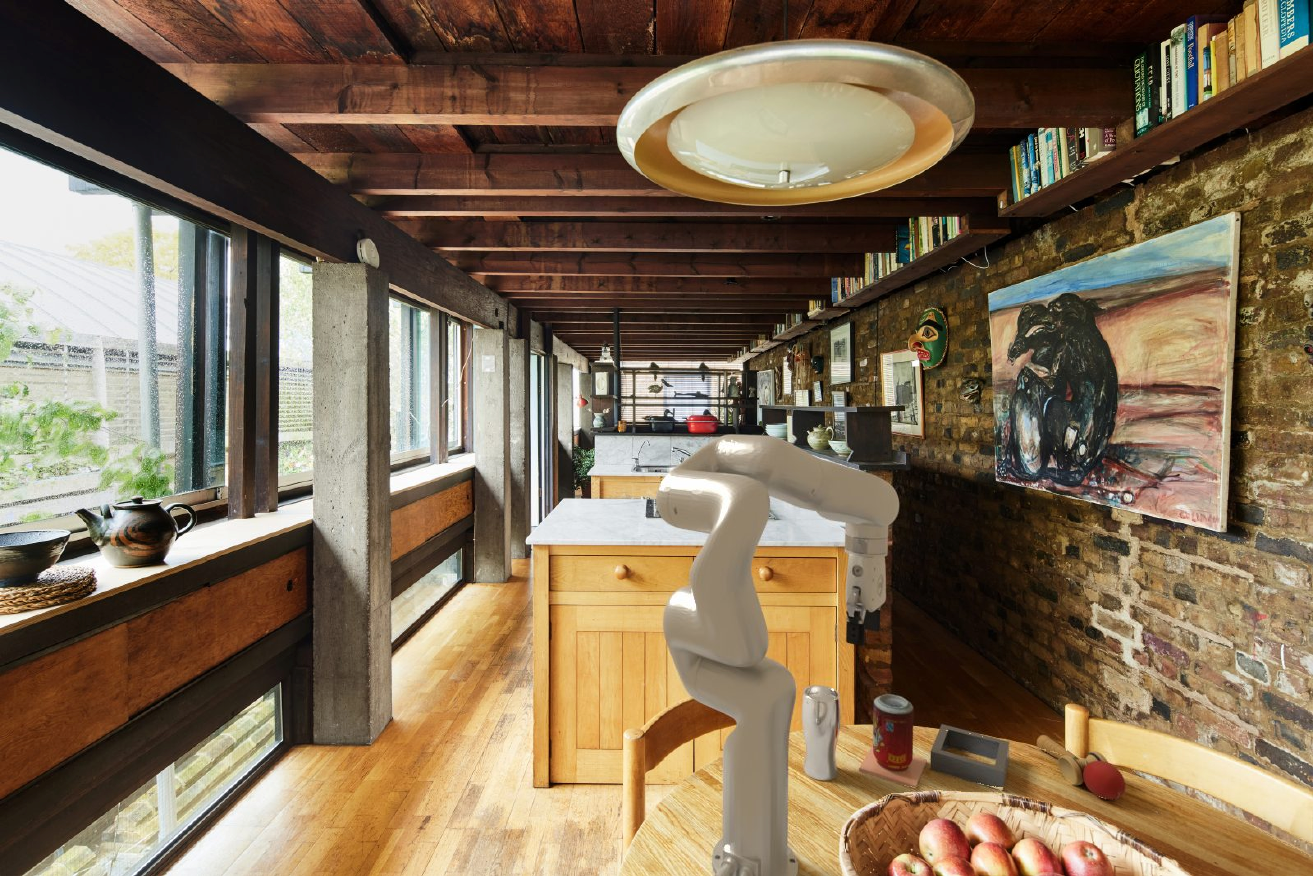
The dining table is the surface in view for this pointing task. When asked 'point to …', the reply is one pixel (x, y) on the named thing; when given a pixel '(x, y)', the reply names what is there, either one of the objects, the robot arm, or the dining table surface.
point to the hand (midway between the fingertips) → (863, 636)
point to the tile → (904, 778)
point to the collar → (967, 766)
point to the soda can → (893, 732)
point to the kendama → (1086, 770)
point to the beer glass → (821, 730)
